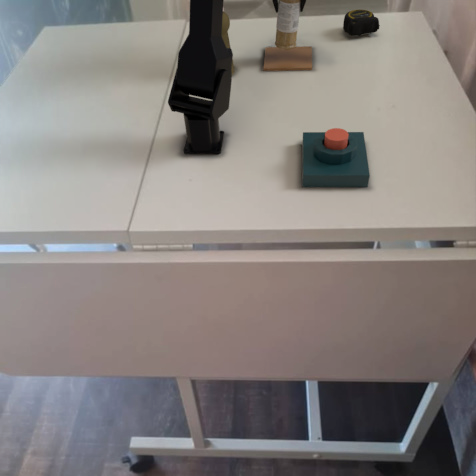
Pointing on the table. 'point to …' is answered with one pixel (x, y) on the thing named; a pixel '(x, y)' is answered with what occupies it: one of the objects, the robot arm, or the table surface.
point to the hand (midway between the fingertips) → (289, 11)
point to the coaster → (288, 59)
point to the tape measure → (360, 23)
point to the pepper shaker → (226, 34)
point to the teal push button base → (334, 162)
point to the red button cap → (336, 139)
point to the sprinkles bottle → (287, 24)
